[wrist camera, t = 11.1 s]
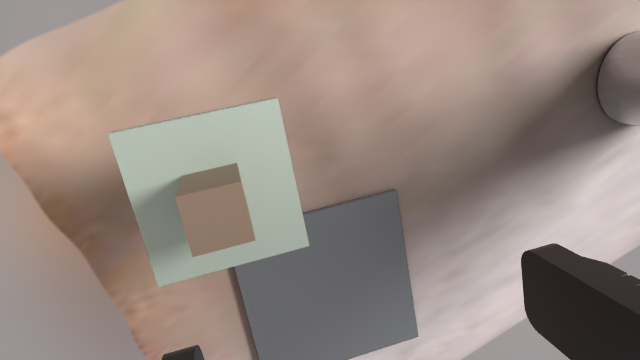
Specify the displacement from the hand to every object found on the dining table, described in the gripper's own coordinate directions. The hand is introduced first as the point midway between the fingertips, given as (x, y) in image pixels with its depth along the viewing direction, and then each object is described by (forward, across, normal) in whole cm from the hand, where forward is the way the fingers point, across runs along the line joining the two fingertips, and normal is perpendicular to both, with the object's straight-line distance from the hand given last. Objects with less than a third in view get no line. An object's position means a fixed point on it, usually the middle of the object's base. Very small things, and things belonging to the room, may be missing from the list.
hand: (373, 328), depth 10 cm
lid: (+16, +4, 0) cm, 17 cm away
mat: (+29, -2, +15) cm, 32 cm away
